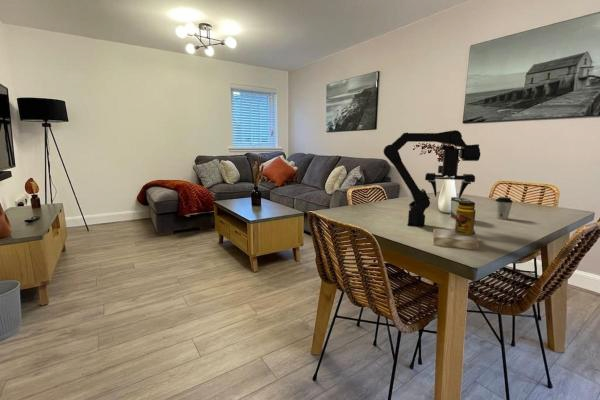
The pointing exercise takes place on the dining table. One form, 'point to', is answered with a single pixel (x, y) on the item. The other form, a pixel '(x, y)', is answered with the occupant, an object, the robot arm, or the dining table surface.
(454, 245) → the picture frame
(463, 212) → the condiment
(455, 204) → the food container
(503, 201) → the coffee cup
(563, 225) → the dining table surface
